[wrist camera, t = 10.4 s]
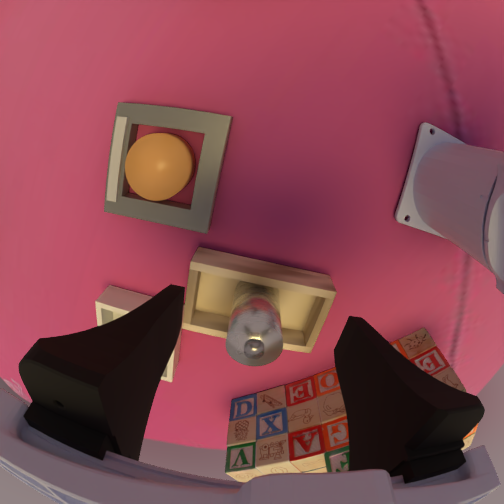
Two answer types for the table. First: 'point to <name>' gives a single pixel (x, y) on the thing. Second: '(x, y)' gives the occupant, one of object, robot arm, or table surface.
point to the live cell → (255, 325)
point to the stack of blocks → (311, 419)
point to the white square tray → (122, 302)
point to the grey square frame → (207, 174)
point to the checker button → (159, 165)
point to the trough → (263, 273)
